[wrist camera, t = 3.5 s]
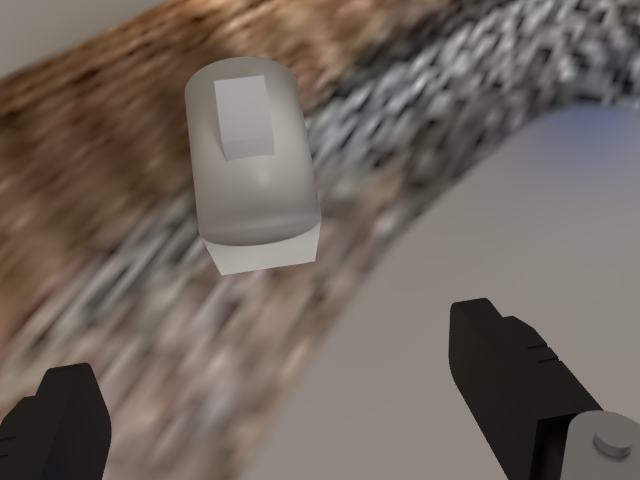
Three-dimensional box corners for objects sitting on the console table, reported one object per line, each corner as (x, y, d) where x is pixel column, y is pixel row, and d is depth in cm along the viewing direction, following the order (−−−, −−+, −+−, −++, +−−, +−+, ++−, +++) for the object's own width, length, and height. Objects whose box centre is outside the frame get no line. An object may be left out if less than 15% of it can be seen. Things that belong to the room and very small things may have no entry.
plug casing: (296, 155, 27) (298, 27, 18) (314, 261, 25) (327, 179, 16) (209, 166, 26) (164, 41, 17) (221, 275, 24) (180, 199, 16)
